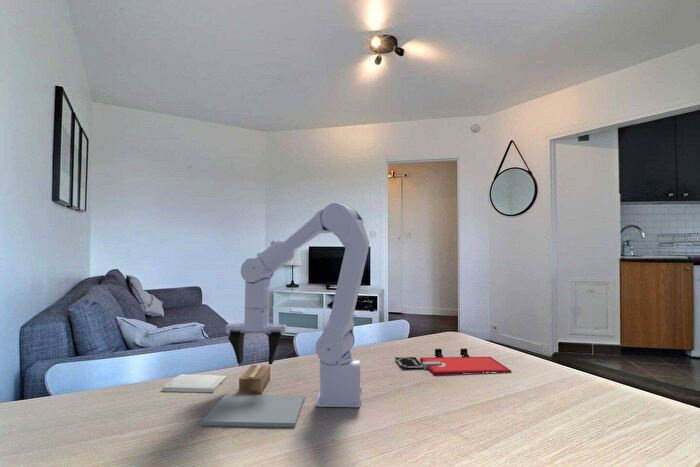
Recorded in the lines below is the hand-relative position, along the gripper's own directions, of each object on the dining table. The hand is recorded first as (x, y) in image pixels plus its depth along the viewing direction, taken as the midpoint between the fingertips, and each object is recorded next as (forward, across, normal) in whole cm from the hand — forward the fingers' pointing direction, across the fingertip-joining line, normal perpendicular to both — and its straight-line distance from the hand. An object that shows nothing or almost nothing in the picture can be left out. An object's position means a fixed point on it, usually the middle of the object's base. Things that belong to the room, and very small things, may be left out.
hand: (255, 362), depth 83 cm
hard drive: (+7, +15, -1) cm, 16 cm away
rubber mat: (+6, -4, +12) cm, 14 cm away
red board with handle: (+6, -52, -18) cm, 55 cm away
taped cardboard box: (+6, 0, 0) cm, 6 cm away
